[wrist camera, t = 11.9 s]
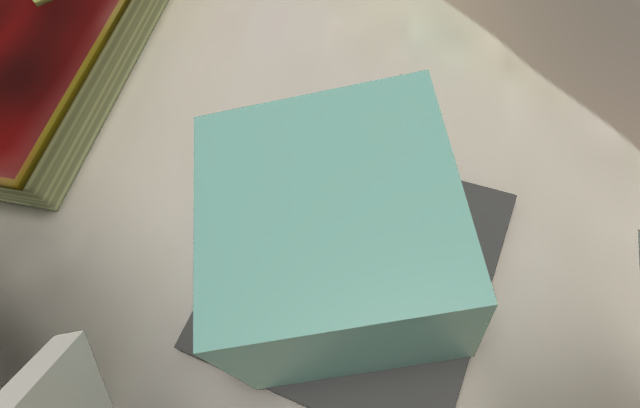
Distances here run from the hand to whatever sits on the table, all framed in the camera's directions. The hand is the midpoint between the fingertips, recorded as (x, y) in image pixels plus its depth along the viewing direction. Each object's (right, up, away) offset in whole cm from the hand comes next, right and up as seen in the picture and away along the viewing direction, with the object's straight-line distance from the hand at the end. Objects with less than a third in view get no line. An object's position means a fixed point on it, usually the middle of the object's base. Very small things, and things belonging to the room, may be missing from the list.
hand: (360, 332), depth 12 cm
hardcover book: (-18, +12, +22) cm, 31 cm away
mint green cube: (0, 0, +11) cm, 11 cm away
